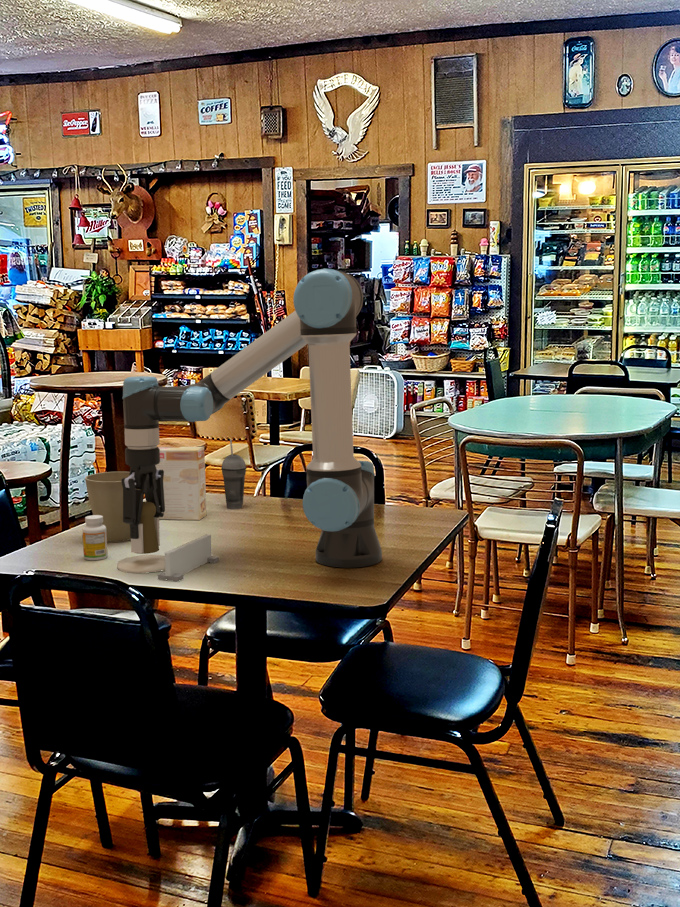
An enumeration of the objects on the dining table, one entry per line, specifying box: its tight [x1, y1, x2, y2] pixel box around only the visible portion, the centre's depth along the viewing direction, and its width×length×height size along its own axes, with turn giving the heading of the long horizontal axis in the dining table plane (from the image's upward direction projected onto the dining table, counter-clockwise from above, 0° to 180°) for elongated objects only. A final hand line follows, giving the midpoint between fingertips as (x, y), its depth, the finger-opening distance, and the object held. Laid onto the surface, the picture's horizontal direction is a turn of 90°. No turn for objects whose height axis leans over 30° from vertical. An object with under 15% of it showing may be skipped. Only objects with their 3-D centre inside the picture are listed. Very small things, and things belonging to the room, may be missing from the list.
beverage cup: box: [220, 438, 247, 510], centre depth 278 cm, size 7×7×20 cm
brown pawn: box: [137, 501, 160, 555], centre depth 215 cm, size 6×6×11 cm
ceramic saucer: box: [116, 554, 165, 574], centre depth 216 cm, size 13×13×1 cm
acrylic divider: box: [157, 533, 220, 582], centre depth 212 cm, size 5×18×6 cm, turn 159°
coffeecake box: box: [155, 446, 207, 521], centre depth 265 cm, size 15×7×20 cm, turn 82°
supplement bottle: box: [82, 514, 109, 561], centre depth 223 cm, size 5×5×10 cm
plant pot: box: [84, 471, 141, 543], centre depth 241 cm, size 15×15×16 cm
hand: (145, 548), depth 216 cm, fingers closed on brown pawn, 6 cm apart
